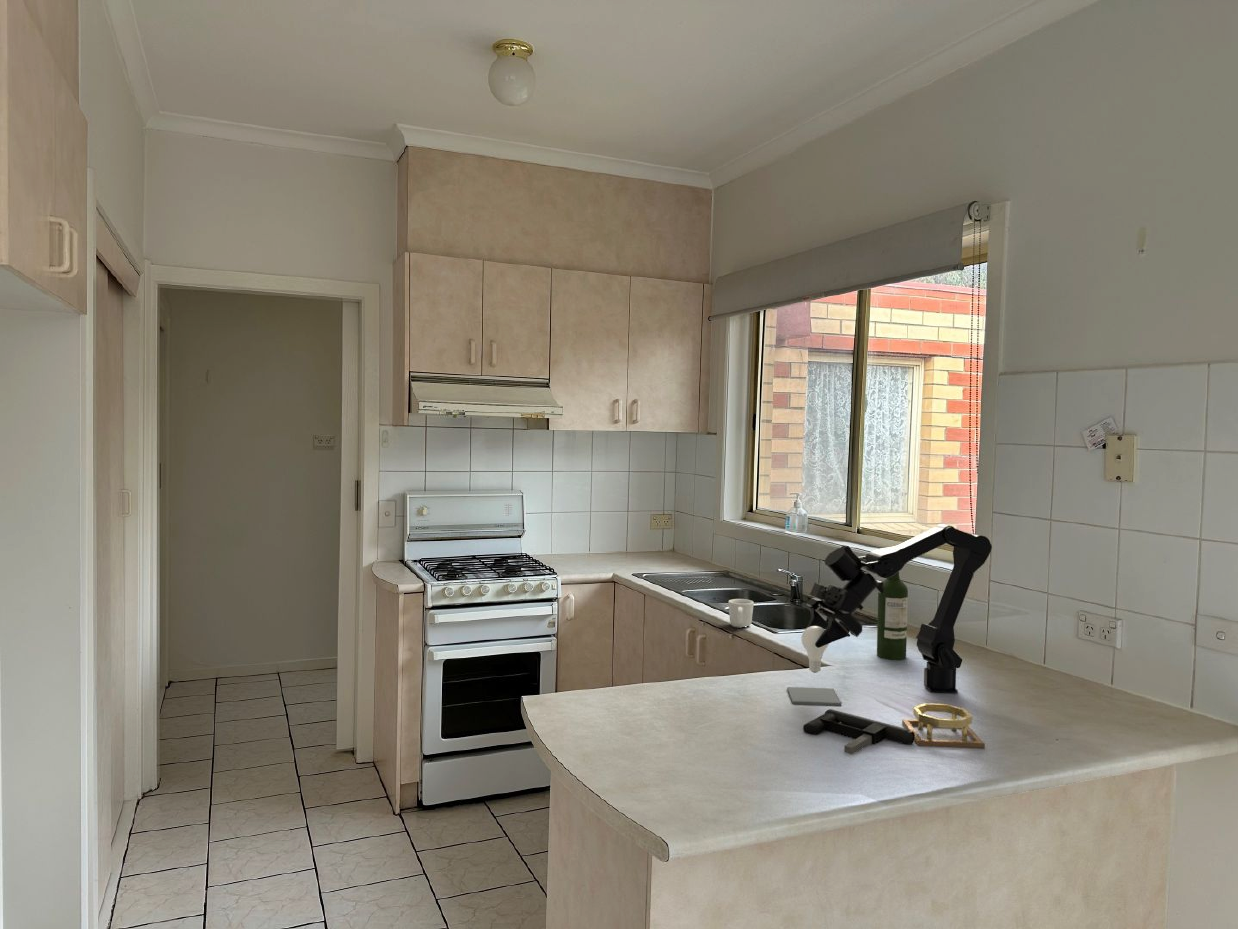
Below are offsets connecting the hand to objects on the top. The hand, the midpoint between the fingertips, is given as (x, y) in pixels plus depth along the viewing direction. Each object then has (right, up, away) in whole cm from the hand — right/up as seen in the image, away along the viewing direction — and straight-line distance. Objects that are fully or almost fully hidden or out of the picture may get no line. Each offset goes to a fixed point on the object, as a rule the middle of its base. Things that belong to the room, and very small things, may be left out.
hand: (810, 642), depth 206 cm
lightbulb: (+1, -7, +1) cm, 7 cm away
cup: (-6, -10, +72) cm, 73 cm away
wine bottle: (+31, -12, +39) cm, 51 cm away
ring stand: (+22, -14, -24) cm, 36 cm away
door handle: (+3, -15, -26) cm, 30 cm away
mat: (+1, -13, +1) cm, 13 cm away
